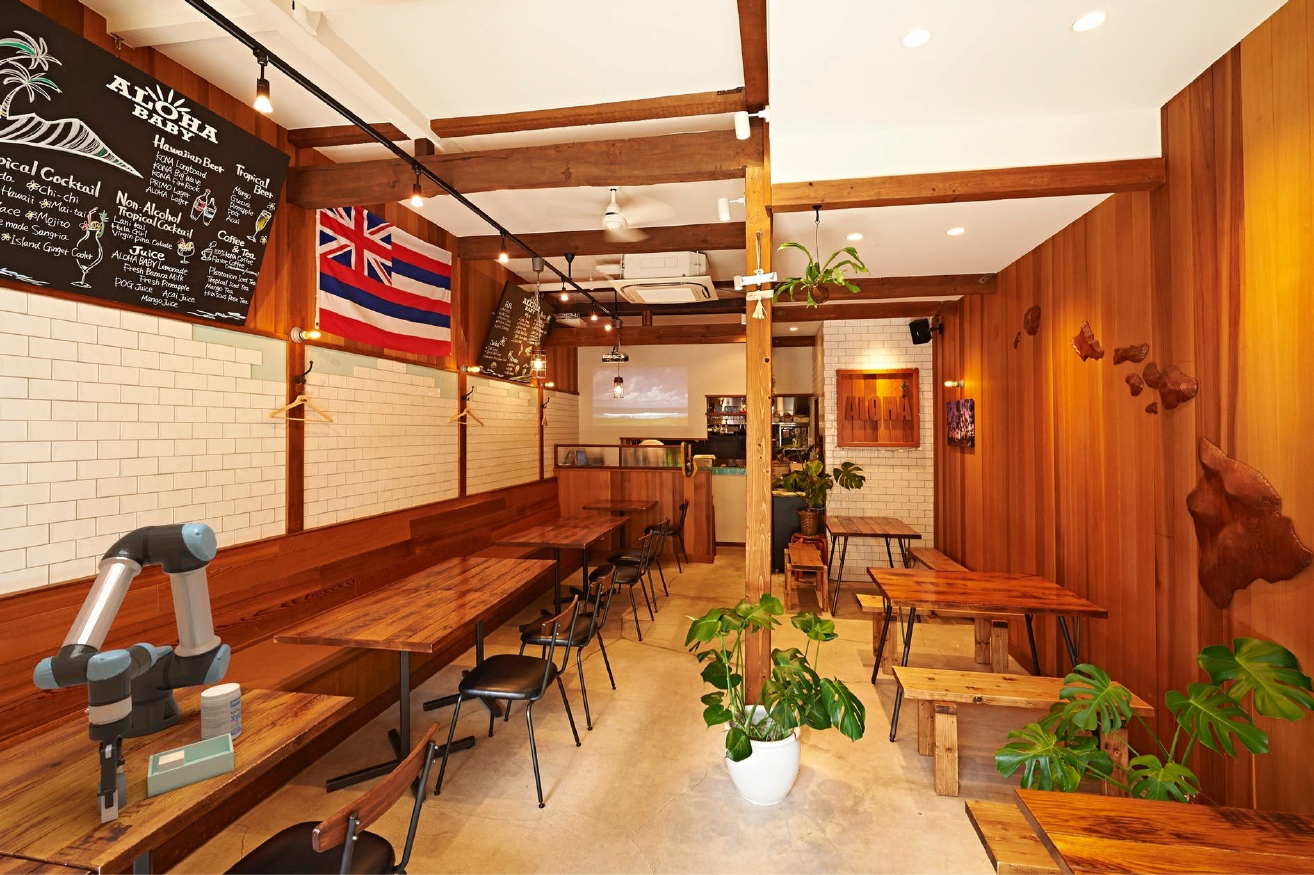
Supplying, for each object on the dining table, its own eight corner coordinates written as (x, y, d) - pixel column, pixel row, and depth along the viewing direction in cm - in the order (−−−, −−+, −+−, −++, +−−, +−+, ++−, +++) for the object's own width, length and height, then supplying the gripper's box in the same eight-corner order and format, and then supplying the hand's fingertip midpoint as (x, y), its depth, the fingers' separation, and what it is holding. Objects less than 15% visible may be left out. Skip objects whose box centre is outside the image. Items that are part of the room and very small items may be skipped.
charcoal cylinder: (99, 807, 138) (98, 778, 138) (127, 798, 141) (126, 770, 141) (97, 817, 134) (96, 787, 134) (126, 808, 137) (125, 779, 137)
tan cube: (160, 776, 150) (159, 757, 150) (184, 768, 153) (184, 750, 153) (159, 784, 146) (158, 765, 146) (184, 776, 149) (183, 757, 149)
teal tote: (150, 774, 151) (150, 756, 151) (231, 750, 162) (230, 733, 162) (148, 797, 141) (147, 777, 141) (234, 770, 152) (233, 751, 152)
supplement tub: (240, 740, 168) (239, 690, 168) (199, 751, 163) (198, 699, 163) (242, 727, 176) (241, 679, 176) (203, 737, 171) (202, 688, 171)
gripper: (94, 705, 145) (96, 791, 144) (81, 742, 126) (83, 840, 126) (134, 696, 149) (136, 779, 149) (127, 730, 131) (130, 825, 131)
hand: (112, 807), depth 138 cm, fingers open, 12 cm apart
